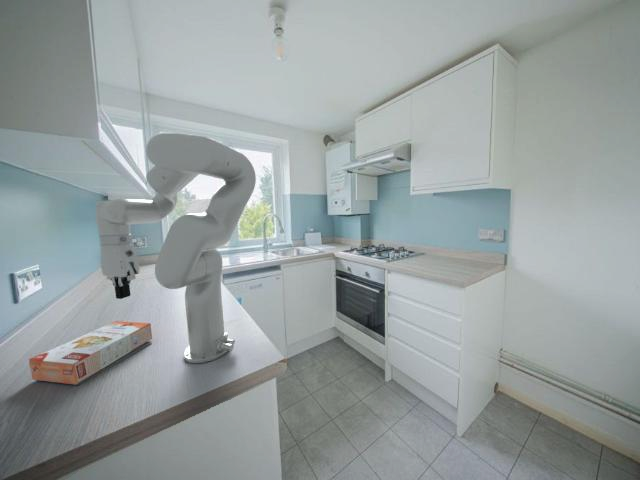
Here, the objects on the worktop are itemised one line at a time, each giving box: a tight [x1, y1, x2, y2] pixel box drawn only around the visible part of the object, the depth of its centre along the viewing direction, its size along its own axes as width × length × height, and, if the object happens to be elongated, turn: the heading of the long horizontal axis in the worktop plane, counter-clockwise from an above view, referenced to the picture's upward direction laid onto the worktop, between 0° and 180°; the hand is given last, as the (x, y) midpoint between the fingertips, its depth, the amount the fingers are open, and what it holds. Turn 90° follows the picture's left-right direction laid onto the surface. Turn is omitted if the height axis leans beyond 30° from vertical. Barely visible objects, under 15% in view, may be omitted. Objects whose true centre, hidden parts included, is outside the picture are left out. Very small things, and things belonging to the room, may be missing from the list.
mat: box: [77, 341, 153, 385], centre depth 66 cm, size 16×18×1 cm
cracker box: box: [28, 320, 153, 386], centre depth 65 cm, size 14×6×21 cm
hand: (123, 297), depth 73 cm, fingers closed
